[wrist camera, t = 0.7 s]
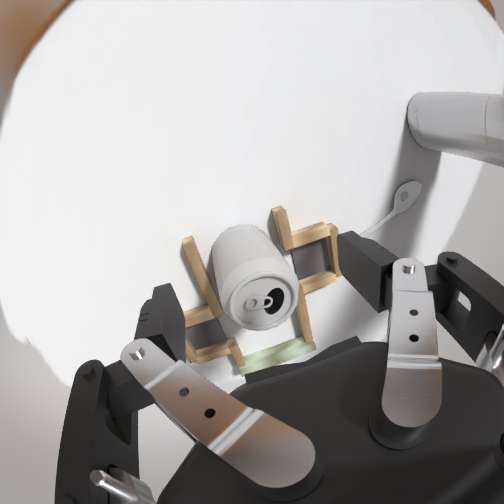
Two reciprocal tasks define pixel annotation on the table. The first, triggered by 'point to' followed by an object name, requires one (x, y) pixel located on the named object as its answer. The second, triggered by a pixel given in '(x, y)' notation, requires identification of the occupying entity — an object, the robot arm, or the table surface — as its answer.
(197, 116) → the table surface
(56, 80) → the table surface
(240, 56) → the table surface
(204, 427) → the robot arm
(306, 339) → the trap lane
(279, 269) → the can
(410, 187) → the spoon
